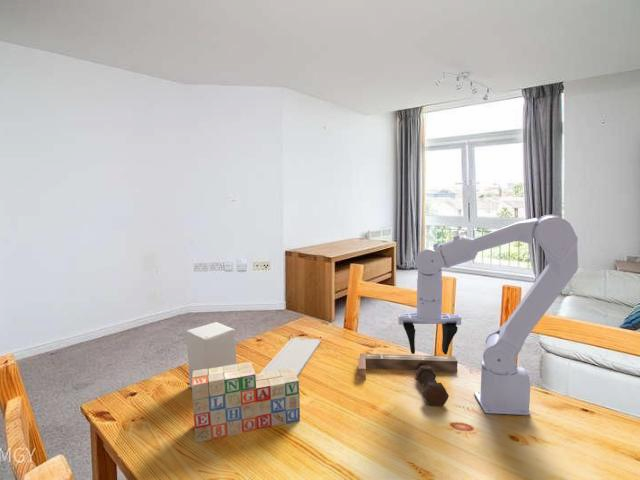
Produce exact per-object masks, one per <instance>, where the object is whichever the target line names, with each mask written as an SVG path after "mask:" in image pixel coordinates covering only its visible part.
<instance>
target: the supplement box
mask: <svg viewBox="0 0 640 480" xmlns="http://www.w3.org/2000/svg"><path fill="white" fill-rule="evenodd" d="M185 333H186V334H185V335H186V349H187V360H188V361H187V362H188V363H187V364H188V376H189V377H188V378H189V387H190V388H191V389H192V375H193V371H195V370H202V369H210V368H216V367H223V366H227V365H234V364H238V363H237V345H236V344H237V343H236V329H235V328H232V327H230V326H227V325H225V324H222V323H220V322H218V321H215V322H211V323H208V324H205V325H202V326H201V325H200V326H198V327H194V328H191V329H187V330H186V331H185Z"/></svg>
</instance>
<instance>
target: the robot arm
mask: <svg viewBox="0 0 640 480" xmlns="http://www.w3.org/2000/svg"><path fill="white" fill-rule="evenodd" d="M533 239H536V240H535V241H536V242H537V243H538V244H539V246H540V247H541V248H542V250H543V252H544V256H545V258H546V260H547V261H546V262H547V264H546V266H545V267H544V269H543V270H542V272H541V273H540V274H539V275H538V277H537V278H536V280H535V281H534V282H533V284H532V286H530V288H529V289H528V291H527V292H526V294H525V295H524V296H523V298H522V299H521V300H520V302H519V304H517V306H516V307H515V309H514V310H513V311H512V313H511V314H510V315H509V317H508V318H507V320H506V322H503V324H501V325H500V327H499V328H498V329H497V330H496V331H494V332H491V333H490V334H489V335H488V336H487V337H486V339H485V348H484V352H483V354H482V361H481V372H480V375H481V376H480V391H475V392H474V396H475V398H476V400H477V401H478V403H479V405H480V407H481V408H482V411H483V412H484V413H485V414H495V415H496V414H497V415H520V416H530V415H531V413H532V412H531V411H530V401H531V380H530V376H529V373H528V371H527V370H526V368H524V367H523V366H518V365H517V357H518V356H519V354H520V353H521V350H522V348H523V347H524V344H525V341H526V339H527V338H528V336H529V335H530V334H531V333H532V331H533V330H534V329H535V327H536V326H537V324H538V323H539V322H540V320H542V318H543V317H544V315H545V313H546V312H547V311H549V309H550V307H551V306H552V305H553V303H554V302H555V301H556V299H557V298H558V297H559V296H560V294H561V293H562V291H563V290H564V289H565V287H566V286H567V285H568V284H569V282H570V281H571V280H572V278H574V276H575V274H576V273H577V271H578V269H579V258H578V256H579V255H578V239H579V237H578V235H577V234H576V232H575V229H574V228H573V226H572V224H571V223H570V222H569V221H567V219H564V218H563V217H562V216H559V215H556V214H545V215H542V216H540V217H539V218H537V217H533V218H529V219H525V220H520V221H516V222H514V223H511V224H509V225H507V226H504V227H501V228H498V229H495V230H493V231H490V232H488V233H485V234H481V235H480V236H477V237H474V238H472V237H470V236H467V235H462V236H461V235H460V234H456V235H454V236H453V237H452V239H450V240H448V241H445V242H442V243H439V242H436V243H434V244H433V245H432V246H433V247H432V246H430V247H426V248H424V249H423V250H421V251H420V252H419V253H417V255H416V257H415V260H414V264H415V267H416V269H417V279H416V281H417V283H416V312H411V313H401V314H399V313H398V315H397V323H398V325H402V327H403V329H404V331H405V333H406V335H407V339H408V344H409V348H410V353H411V355H416V354H415V353H416V346H415V343H416V341H415V340H416V339H415V336H416V329H415V324H417V325H420V324H421V325H441V330H442V341H441V351H442V353H443V354H444V355H448V352H449V349H450V346H451V342H452V340H453V339H454V337H455V335H456V334H457V332H458V330H459V329H458V328H459V327H458V326H461V325H462V316H461V315H460V314H451V313H443V311H442V310H443V279H442V278H443V277H442V275H443V271H442V270H443V268H445V269H448V268H451V267H455V266H457V265H460V264H463V263H466V262H470V261H474V260H475V259H476V258H477V255H478V253H479V252H483V251H486V250H490V249H494V248H496V247H499V246H503V245H506V244H510V243H513V242H520V243H526V244H530V245H533Z"/></svg>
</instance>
